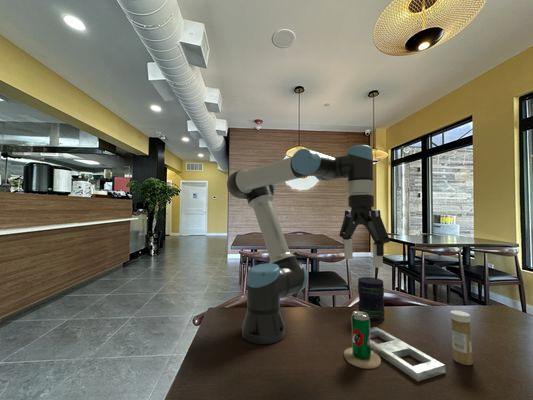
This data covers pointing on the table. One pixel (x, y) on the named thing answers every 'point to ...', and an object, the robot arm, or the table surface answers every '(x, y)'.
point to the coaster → (367, 364)
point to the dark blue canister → (371, 298)
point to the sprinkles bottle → (461, 337)
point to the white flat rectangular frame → (399, 349)
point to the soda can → (361, 335)
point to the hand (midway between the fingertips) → (362, 262)
